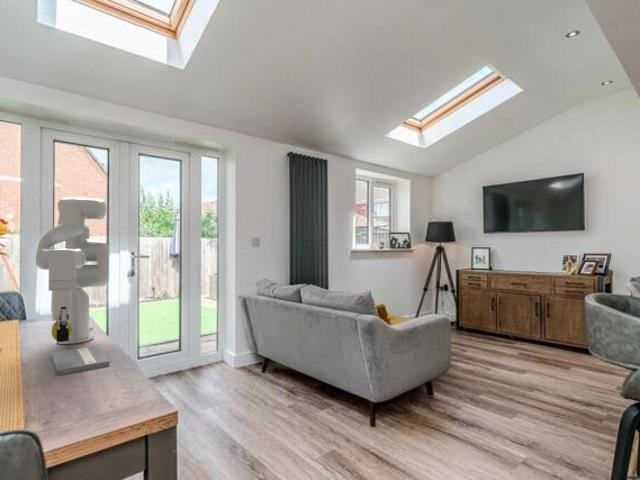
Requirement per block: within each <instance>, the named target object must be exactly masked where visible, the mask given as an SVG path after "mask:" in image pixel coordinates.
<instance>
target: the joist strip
mask: <svg viewBox="0 0 640 480" xmlns="http://www.w3.org/2000/svg"><path fill="white" fill-rule="evenodd" d="M81 348H82V349H79V348H76V349H77V350H78V352H79V353H80V355H81V357H82V359H83V360H84V362H85V364H91V363H96V360H95V359H94V358H93V356H92V355H91V353H90V352H89V350H88V349H87V348H86V347H81Z"/></svg>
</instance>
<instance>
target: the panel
mask: <svg viewBox="0 0 640 480" xmlns="http://www.w3.org/2000/svg"><path fill="white" fill-rule="evenodd" d="M82 348H83V347H81V348H74V349H68V350H61V351H55V352H51V359H52V363H53V366H54V369H55V372H56V375H57V376H61V375H65V374H71V373H75V372H76V373H77V372H82V371H86V370H92V369H98V368H104V367H109V366H110V360H109V359H108V357H107V356H106V354H104V353H103V351H102V350H101V349H100V347H99V346H98V345H94V346H87V347H85V348H87V349H88V350H89V352H90V353H91V355H92V356H93V358H94V359H95V360H96V363H91V364H85V362H84V360H83V359H82V357H81V355H80V353H79V352H78V350H77V349H82Z"/></svg>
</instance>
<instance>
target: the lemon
mask: <svg viewBox="0 0 640 480" xmlns="http://www.w3.org/2000/svg"><path fill="white" fill-rule="evenodd" d="M60 320H61V319H60ZM68 328H69V337H70V335H71V332H72V326H71V323H70V322H69V321H68ZM57 330H58V321H57V322H56V321H54V323H53V325H52V327H51V336H52V338H53V339H54V340H56V341H57ZM61 343H62V342H61Z"/></svg>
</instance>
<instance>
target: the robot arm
mask: <svg viewBox="0 0 640 480" xmlns="http://www.w3.org/2000/svg"><path fill="white" fill-rule="evenodd" d="M57 210H58V213H59V215H58V221H57V225H56V226H55V227H53V228H51V229H49V230H48V231H47V232H46V233H44V235H42V237H41V238H40V240H39V242H38V245H37V250H36V255H35V263H36V266H37V267H38V269H41V270H43V271H48V291H50V292H51V305H50V307H51V308H50V310H51V311H50V318H51V320H52V321H53V322H57V321H58V330H57V340H56V343H57V344H60V345H71V344H80V343H81V344H82V343H85V342H89V341H91V340H93V339H94V335H93V334H90V332H92V331H94V326H92V325H91V326H90V297H89V295H88V293H87V292H86V291H85V290H84V289H83V288H97V287H98V288H100V287H104V286H107V284H108V282H109V278H110V248H109V244H108V242H107V241H106V240H103V239H102V240H101V239H90V228H89V226H88V225H87V223H86V221H85V220H103V219H104V217H105V216H106V214H107V204H106V202H105V200H104V199H103V198H102V199H101V198H90V197H89V198H88V197H86V198H85V197H64V198H60V199H59V200H58V202H57ZM63 242H65V245H64V246H65V248H60V247H59V248H57V247H56V248H55V247H54V246H55V245H58V244H61V243H63ZM52 247H54V248H52ZM93 262H94V263H96V264H86V263H93ZM60 319H61V320H60ZM68 321H69V322H70V323H71V326H72V332H71V335H70V337H69V328H68ZM61 342H62V343H61Z"/></svg>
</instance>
